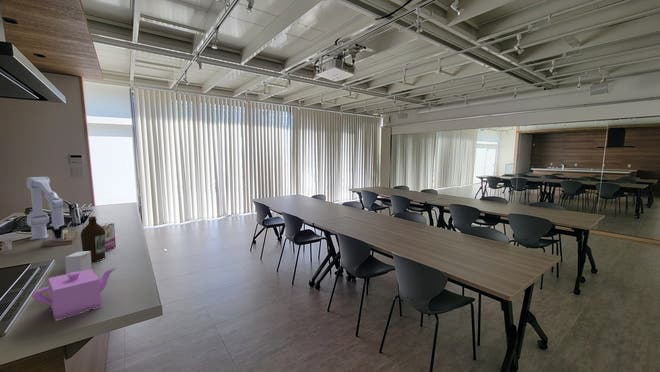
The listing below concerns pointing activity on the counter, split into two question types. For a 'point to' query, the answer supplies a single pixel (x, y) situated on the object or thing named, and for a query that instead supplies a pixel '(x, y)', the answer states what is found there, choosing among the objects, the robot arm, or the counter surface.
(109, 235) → the candy bar box
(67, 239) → the puzzle board
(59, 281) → the teapot
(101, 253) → the olive oil
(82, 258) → the skincare box
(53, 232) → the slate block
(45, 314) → the counter surface
